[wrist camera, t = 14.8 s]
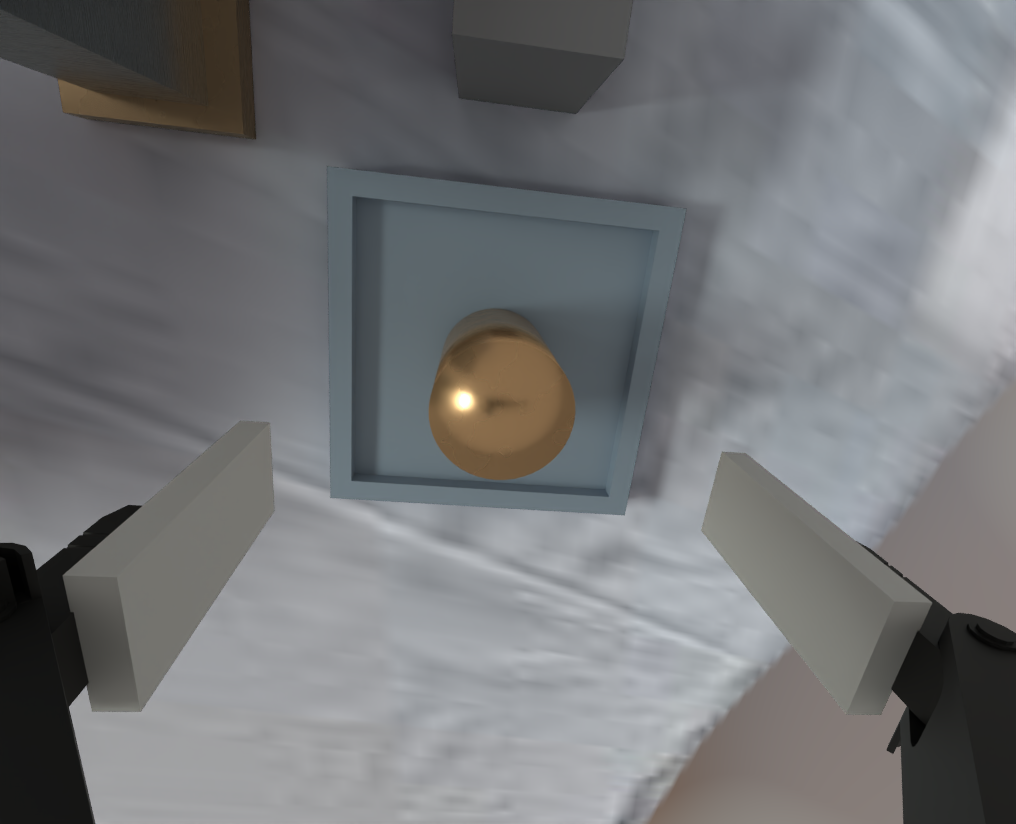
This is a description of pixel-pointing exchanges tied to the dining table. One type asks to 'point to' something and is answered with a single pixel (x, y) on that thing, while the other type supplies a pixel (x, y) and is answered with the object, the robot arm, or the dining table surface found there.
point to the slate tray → (477, 286)
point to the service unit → (140, 59)
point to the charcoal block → (537, 50)
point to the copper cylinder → (499, 397)
